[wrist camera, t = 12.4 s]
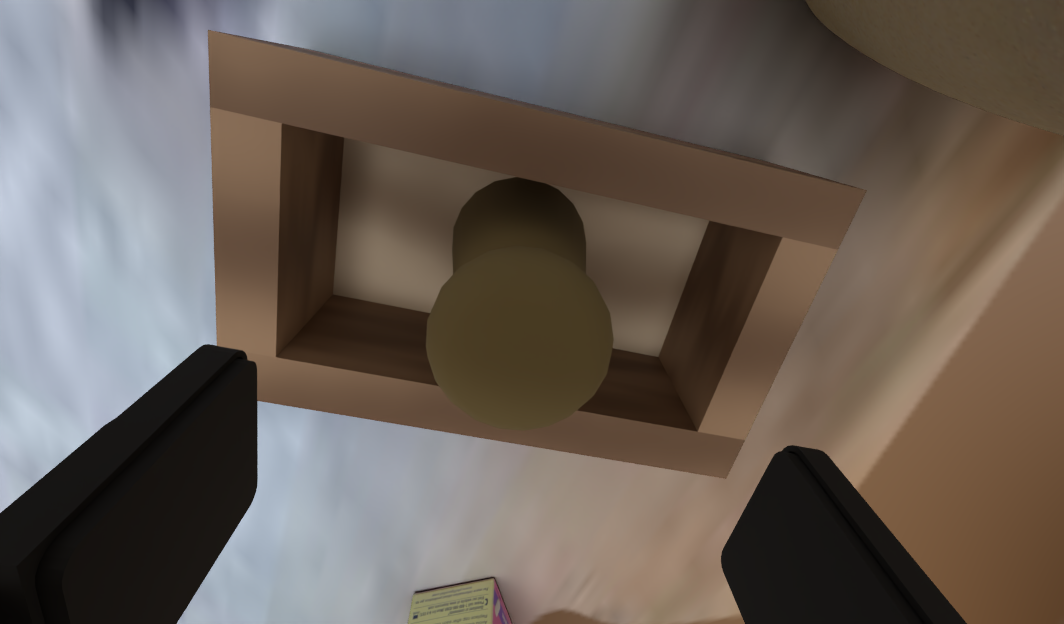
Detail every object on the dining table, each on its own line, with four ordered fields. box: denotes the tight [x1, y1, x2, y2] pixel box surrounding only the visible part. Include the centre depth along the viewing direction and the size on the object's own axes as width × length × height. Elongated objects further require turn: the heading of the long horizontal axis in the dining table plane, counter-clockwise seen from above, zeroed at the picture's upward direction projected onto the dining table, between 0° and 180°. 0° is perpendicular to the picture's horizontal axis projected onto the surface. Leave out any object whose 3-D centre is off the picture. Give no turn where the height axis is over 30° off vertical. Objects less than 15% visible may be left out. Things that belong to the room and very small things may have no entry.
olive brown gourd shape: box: [426, 177, 614, 431], centre depth 18 cm, size 6×6×11 cm
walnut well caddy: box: [208, 30, 867, 479], centre depth 20 cm, size 12×20×7 cm, turn 77°
